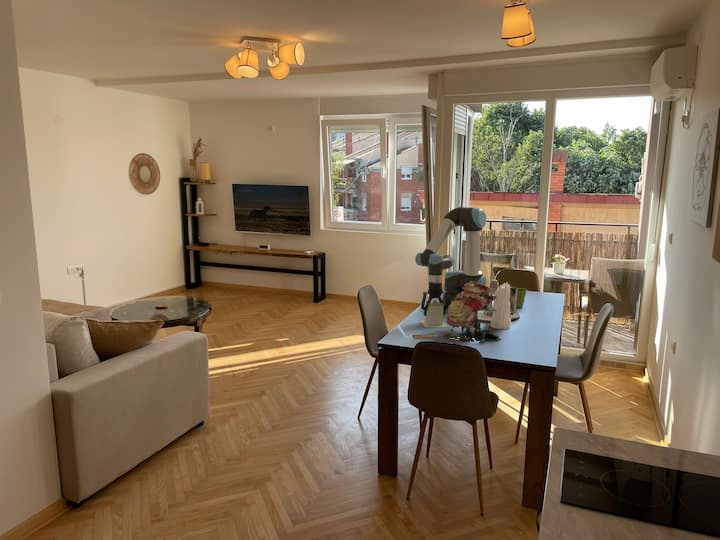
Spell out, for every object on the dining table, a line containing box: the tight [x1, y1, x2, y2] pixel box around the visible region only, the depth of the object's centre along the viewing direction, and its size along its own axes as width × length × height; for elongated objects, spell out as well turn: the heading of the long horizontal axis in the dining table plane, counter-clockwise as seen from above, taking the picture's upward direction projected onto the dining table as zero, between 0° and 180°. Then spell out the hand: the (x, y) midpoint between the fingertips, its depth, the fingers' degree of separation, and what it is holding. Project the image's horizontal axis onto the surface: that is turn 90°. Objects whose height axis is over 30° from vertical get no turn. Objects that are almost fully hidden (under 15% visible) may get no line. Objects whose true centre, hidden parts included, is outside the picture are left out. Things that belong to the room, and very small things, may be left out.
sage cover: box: [424, 299, 444, 325], centre depth 297 cm, size 8×8×13 cm
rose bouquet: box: [442, 281, 501, 344], centre depth 275 cm, size 26×29×30 cm
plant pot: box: [516, 288, 528, 309], centre depth 341 cm, size 12×12×11 cm
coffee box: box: [510, 285, 518, 314], centre depth 327 cm, size 9×6×16 cm
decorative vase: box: [490, 282, 512, 330], centre depth 295 cm, size 11×11×25 cm
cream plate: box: [420, 320, 449, 328], centre depth 298 cm, size 13×13×3 cm
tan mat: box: [412, 334, 436, 340], centre depth 282 cm, size 16×11×1 cm
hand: (434, 321), depth 298 cm, fingers closed on sage cover, 8 cm apart
